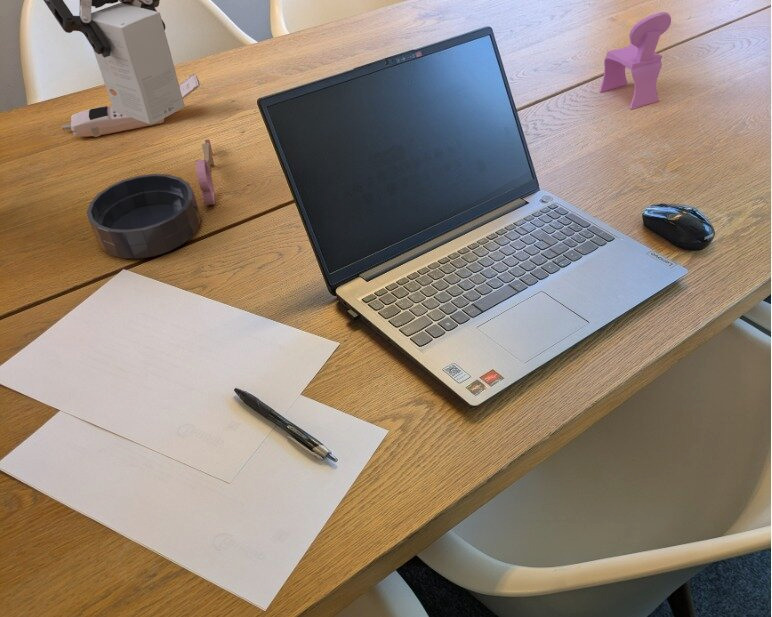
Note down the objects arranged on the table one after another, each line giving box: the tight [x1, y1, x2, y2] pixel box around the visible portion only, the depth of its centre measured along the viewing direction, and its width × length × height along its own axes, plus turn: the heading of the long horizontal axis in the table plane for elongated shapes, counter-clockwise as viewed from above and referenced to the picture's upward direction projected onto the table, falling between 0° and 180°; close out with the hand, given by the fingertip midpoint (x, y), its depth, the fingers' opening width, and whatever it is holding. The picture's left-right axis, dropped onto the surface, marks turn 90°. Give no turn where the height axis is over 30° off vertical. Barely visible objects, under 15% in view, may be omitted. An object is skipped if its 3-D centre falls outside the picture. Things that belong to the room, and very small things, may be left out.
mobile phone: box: [61, 73, 201, 138], centre depth 117 cm, size 6×6×25 cm
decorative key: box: [195, 139, 216, 206], centre depth 103 cm, size 7×1×20 cm
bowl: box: [86, 173, 201, 260], centre depth 93 cm, size 14×14×5 cm
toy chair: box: [599, 11, 672, 110], centre depth 113 cm, size 8×9×15 cm
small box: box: [91, 2, 185, 126], centre depth 88 cm, size 8×6×13 cm
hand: (135, 44), depth 85 cm, fingers closed on small box, 7 cm apart
